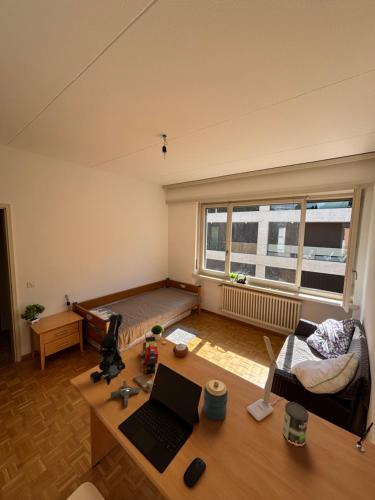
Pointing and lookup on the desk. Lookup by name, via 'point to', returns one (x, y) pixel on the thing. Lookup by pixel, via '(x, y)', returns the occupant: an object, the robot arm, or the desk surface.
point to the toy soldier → (150, 355)
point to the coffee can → (295, 422)
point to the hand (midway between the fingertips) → (108, 384)
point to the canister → (215, 400)
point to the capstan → (125, 392)
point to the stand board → (144, 382)
